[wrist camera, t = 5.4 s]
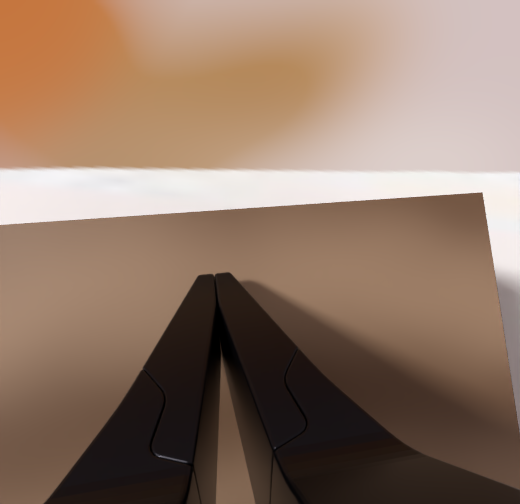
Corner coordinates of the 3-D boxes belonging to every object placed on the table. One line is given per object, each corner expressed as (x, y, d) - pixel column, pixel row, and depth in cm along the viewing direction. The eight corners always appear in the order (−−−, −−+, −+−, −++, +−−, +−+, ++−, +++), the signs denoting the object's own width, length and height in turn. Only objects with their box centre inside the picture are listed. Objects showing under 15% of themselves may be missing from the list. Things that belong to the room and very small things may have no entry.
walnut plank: (478, 540, 12) (545, 605, 10) (-57, 667, 10) (-148, 796, 7) (431, 209, 13) (482, 192, 11) (-66, 246, 11) (-150, 235, 8)
